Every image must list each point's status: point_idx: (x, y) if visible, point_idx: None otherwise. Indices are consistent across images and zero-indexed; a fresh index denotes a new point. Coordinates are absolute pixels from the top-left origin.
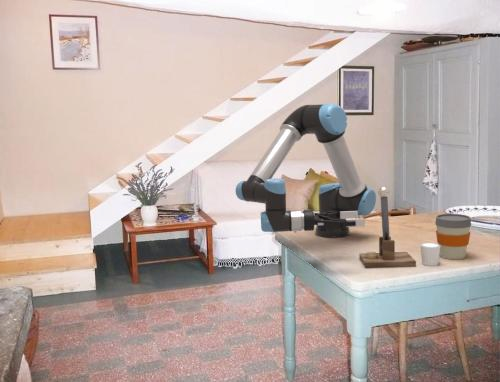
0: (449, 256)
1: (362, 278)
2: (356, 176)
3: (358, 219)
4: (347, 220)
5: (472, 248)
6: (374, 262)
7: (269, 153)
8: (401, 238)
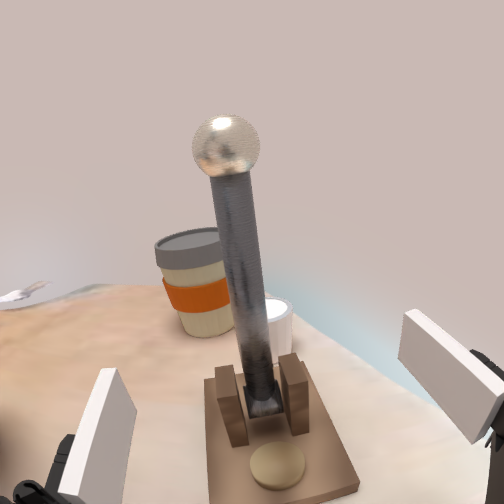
0: (232, 321)
1: (470, 464)
2: None
3: (443, 332)
4: (500, 386)
5: (166, 302)
6: (345, 454)
7: None
8: (44, 378)
